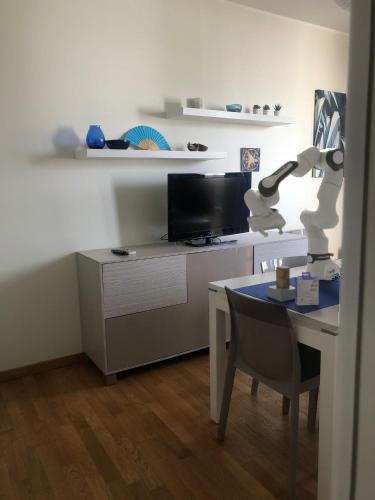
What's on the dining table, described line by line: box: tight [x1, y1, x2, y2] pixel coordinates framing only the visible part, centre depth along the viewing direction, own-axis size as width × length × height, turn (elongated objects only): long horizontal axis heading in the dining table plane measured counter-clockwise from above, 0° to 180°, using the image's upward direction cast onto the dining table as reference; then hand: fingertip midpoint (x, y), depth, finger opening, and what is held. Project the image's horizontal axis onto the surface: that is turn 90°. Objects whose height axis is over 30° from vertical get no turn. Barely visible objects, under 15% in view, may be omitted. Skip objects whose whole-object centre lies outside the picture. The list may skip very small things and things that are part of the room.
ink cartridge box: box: [294, 271, 320, 306], centre depth 187 cm, size 10×6×14 cm, turn 89°
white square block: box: [267, 284, 295, 303], centre depth 199 cm, size 10×10×5 cm
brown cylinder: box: [275, 265, 291, 289], centre depth 197 cm, size 4×4×10 cm
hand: (274, 235), depth 209 cm, fingers open, 8 cm apart
